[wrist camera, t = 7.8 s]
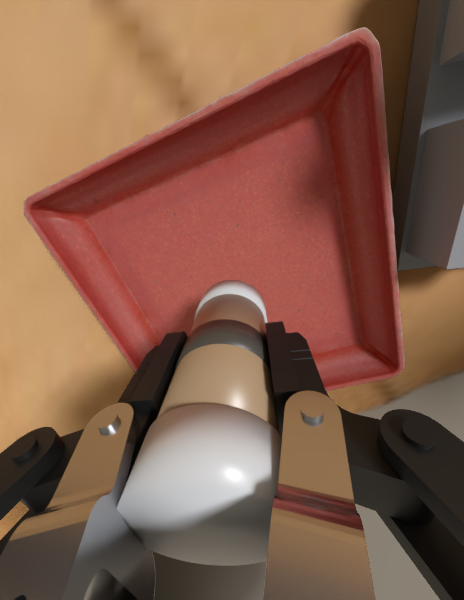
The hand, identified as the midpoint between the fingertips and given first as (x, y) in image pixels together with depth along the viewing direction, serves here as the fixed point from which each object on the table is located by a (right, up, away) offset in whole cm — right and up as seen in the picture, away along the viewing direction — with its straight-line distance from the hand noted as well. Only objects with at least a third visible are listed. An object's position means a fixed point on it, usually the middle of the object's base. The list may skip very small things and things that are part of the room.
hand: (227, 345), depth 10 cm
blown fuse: (0, +1, +3) cm, 3 cm away
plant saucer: (+1, +3, +7) cm, 8 cm away
